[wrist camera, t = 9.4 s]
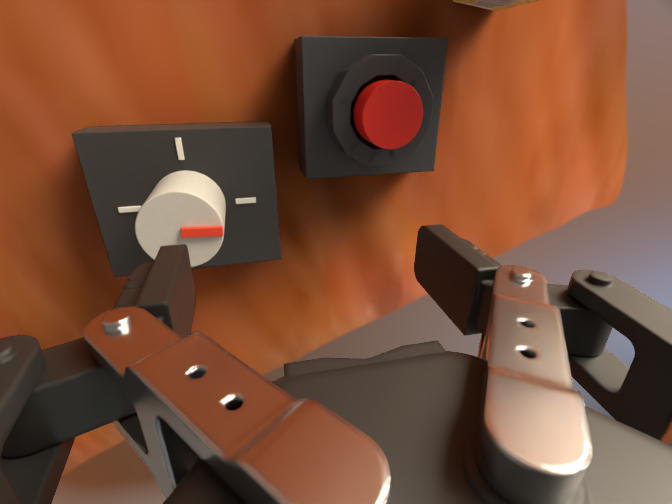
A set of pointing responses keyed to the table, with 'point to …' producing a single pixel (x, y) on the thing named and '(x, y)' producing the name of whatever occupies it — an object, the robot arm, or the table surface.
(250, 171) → the dial panel
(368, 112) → the power button
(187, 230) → the dial
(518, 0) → the candy box
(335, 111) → the button housing
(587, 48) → the table surface
